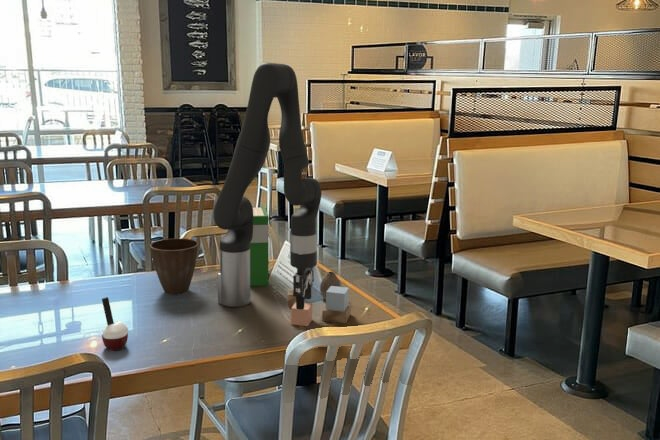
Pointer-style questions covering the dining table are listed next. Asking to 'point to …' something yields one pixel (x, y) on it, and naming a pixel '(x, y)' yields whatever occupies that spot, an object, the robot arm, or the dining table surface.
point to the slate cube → (337, 298)
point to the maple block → (291, 298)
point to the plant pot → (174, 263)
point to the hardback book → (259, 248)
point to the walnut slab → (336, 315)
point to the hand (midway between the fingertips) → (303, 303)
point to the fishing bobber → (113, 330)
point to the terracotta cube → (301, 315)
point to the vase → (329, 283)
